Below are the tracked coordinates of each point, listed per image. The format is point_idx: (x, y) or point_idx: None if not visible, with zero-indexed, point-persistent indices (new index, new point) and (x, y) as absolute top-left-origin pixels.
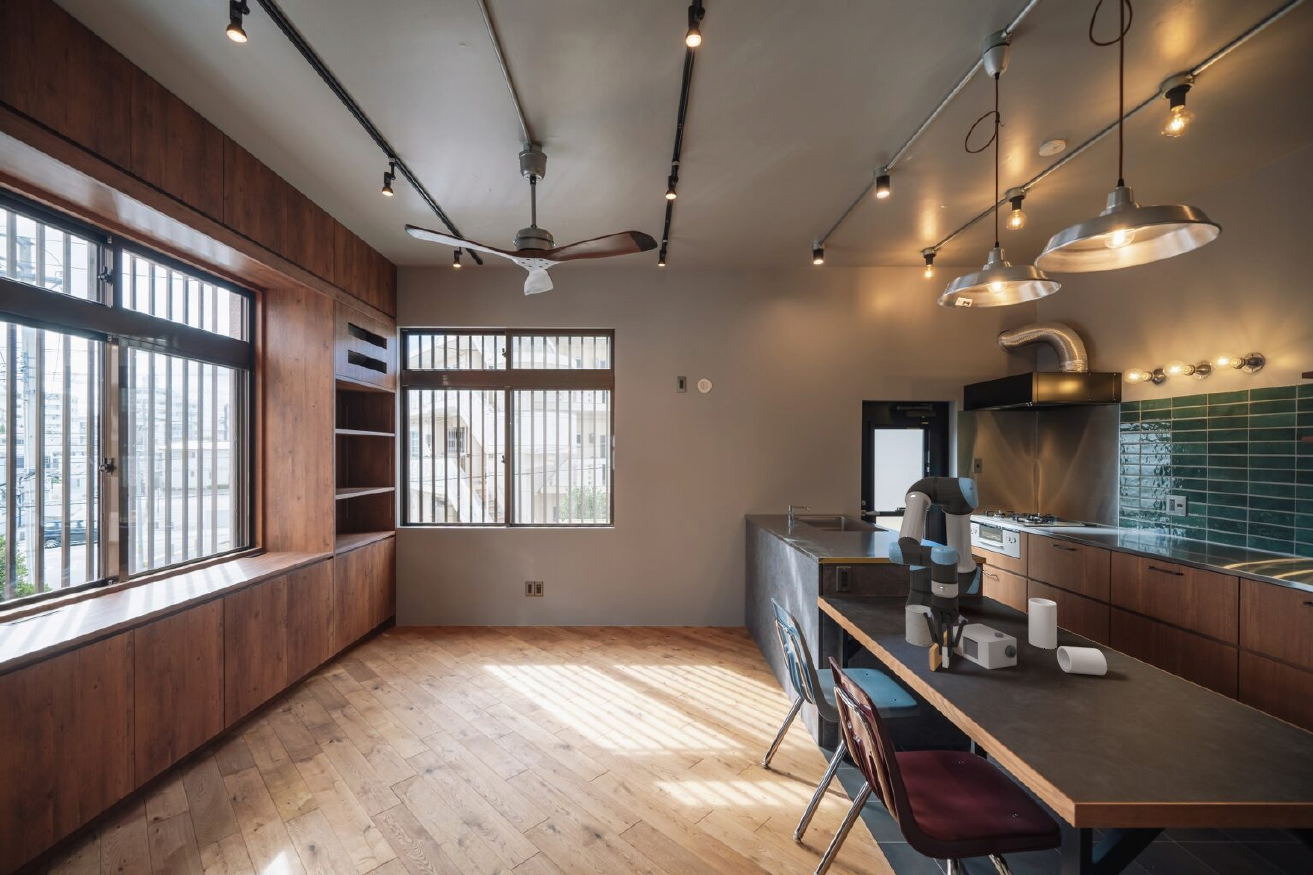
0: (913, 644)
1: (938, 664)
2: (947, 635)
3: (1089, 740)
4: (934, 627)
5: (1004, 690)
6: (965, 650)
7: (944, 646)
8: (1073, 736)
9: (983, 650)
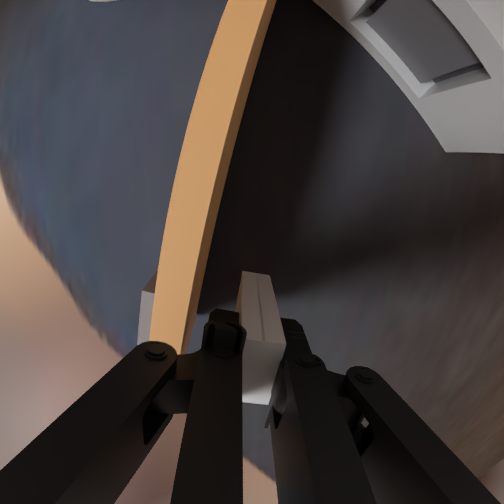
0: (97, 1)
1: (211, 239)
2: (283, 496)
3: (477, 441)
4: (99, 457)
5: (444, 340)
6: (367, 6)
7: (247, 383)
8: (463, 447)
9: (488, 123)
